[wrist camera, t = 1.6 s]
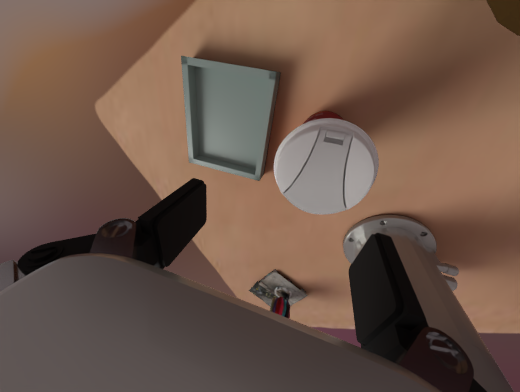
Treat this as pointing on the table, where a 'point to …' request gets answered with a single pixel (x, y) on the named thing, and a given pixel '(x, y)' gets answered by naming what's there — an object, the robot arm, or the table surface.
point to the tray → (228, 115)
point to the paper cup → (326, 164)
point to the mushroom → (507, 13)
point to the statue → (278, 293)
